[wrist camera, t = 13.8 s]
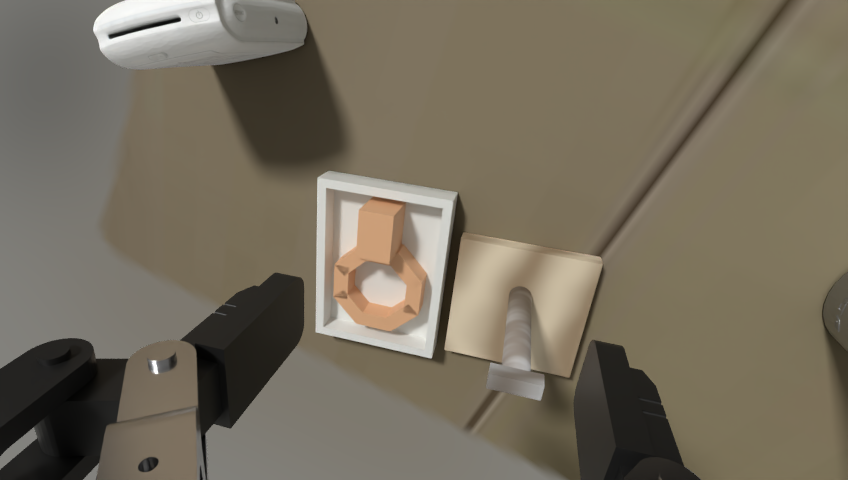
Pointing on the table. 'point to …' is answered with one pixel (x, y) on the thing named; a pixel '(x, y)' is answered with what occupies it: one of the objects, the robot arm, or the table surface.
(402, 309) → the terracotta ring
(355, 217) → the white tray
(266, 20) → the photo printer
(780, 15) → the table surface
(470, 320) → the stake board
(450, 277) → the table surface
